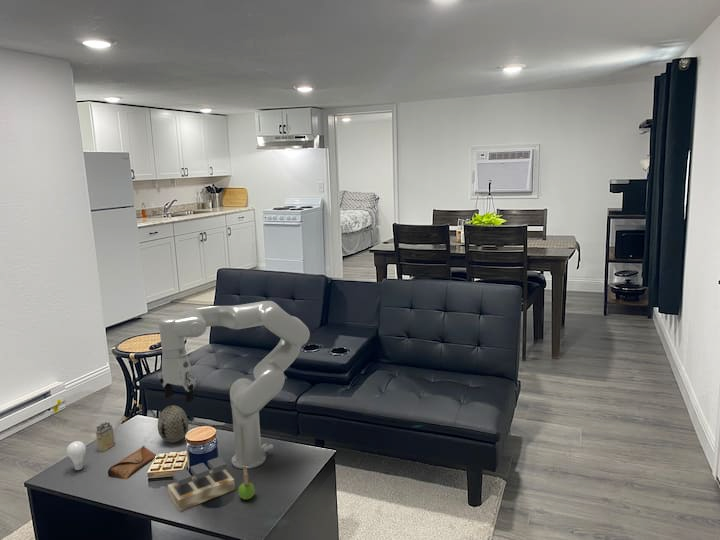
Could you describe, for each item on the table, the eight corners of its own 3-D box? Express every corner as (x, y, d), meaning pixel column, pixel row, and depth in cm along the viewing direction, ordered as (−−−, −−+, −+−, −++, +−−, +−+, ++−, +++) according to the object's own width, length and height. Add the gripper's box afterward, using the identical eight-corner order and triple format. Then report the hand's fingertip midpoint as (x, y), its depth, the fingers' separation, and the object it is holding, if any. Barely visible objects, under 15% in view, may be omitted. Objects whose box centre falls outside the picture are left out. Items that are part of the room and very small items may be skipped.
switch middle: (203, 471, 191) (202, 462, 191) (210, 479, 187) (209, 469, 186) (191, 475, 189) (190, 466, 188) (197, 483, 184) (196, 474, 183)
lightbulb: (65, 473, 203) (61, 445, 201) (78, 464, 209) (75, 436, 207) (79, 475, 201) (75, 447, 199) (92, 466, 207) (88, 439, 205)
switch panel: (222, 475, 199) (221, 465, 198) (235, 489, 190) (234, 478, 189) (168, 495, 188) (167, 484, 187) (179, 511, 179) (178, 499, 178)
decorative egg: (195, 436, 228) (192, 402, 225) (176, 450, 217) (172, 414, 214) (173, 432, 232) (169, 398, 229) (152, 445, 222) (149, 410, 219)
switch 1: (186, 477, 188) (185, 468, 187) (192, 485, 183) (191, 476, 182) (173, 482, 185) (172, 473, 185) (179, 490, 181) (178, 480, 180)
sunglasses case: (126, 480, 197) (117, 463, 197) (114, 486, 200) (105, 470, 200) (161, 455, 214) (152, 440, 214) (149, 461, 217) (141, 446, 217)
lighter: (110, 442, 225) (107, 419, 223) (117, 444, 223) (114, 421, 221) (96, 450, 219) (92, 427, 217) (103, 452, 217) (100, 429, 215)
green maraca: (239, 506, 181) (237, 472, 178) (238, 495, 187) (235, 462, 184) (256, 502, 182) (254, 469, 180) (254, 492, 188) (252, 459, 186)
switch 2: (220, 465, 195) (219, 456, 194) (227, 472, 190) (226, 463, 189) (208, 469, 192) (207, 460, 192) (214, 477, 187) (214, 468, 187)
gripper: (200, 351, 191) (206, 398, 194) (163, 346, 198) (169, 391, 202) (185, 359, 184) (190, 407, 188) (147, 352, 192) (153, 399, 195)
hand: (179, 398), depth 195 cm, fingers open, 9 cm apart
